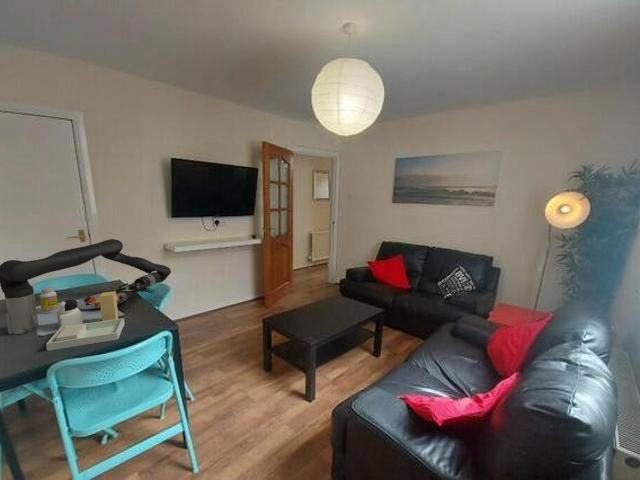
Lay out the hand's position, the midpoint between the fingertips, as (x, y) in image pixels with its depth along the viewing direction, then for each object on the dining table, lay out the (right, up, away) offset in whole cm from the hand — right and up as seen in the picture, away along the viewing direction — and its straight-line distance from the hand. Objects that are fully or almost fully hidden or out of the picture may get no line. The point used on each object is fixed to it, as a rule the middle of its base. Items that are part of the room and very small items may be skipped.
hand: (124, 292), depth 153 cm
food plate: (-23, -9, +16) cm, 29 cm away
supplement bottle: (-42, -11, +3) cm, 43 cm away
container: (-16, -14, -14) cm, 26 cm away
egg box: (-5, -16, -26) cm, 31 cm away
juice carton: (-1, -14, -8) cm, 16 cm away
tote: (0, -16, -24) cm, 29 cm away
